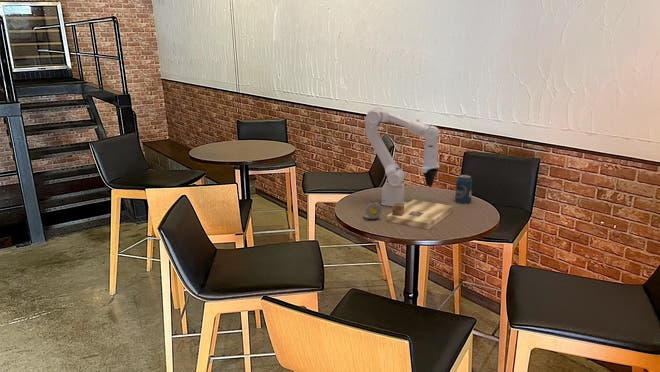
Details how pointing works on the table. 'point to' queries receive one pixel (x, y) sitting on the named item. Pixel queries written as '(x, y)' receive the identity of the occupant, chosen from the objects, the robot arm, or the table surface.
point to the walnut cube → (398, 209)
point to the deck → (421, 214)
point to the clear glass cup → (373, 210)
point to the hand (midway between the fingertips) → (429, 185)
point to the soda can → (463, 189)
